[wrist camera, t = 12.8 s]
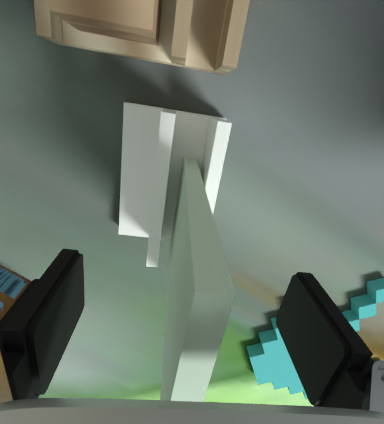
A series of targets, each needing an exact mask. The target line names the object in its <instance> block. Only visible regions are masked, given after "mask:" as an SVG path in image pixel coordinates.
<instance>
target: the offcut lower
mask: <svg viewBox="0 0 384 424" xmlns="http://www.w3.org/2000/svg"><path fill="white" fill-rule="evenodd" d="M161 8H162V0H159V3H158V16H157V28H156V39H151V38H146V37H141V36H136V35H131V34H126V33H120V32H115V31H110V30H105V29H100V28H94V27H89V26H84V25H79V24H74V23H68V22H67V23H68V24H70V25H71V26H73V27H74V28H76V29H77V30H79V31H82V32H87V33H92V34H97V35H103V36H108V37H113V38H118V39H124V40H129V41H134V42H140V43H145V44H150V45H155V46H158V44H159V32H160V20H161Z"/></svg>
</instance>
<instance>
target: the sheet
mask: <svg viewBox="0 0 384 424" xmlns="http://www.w3.org/2000/svg"><path fill="white" fill-rule="evenodd" d="M235 296H236V294H235V290H234V287H233V284H232V280H231V277H230V273H229V270H228V266H227V263H226V259H225V256H224V252H223V249H222V246H221V242H220V239H219V235H218V232H217V228H216V225H215V221H214V218H213V214H212V211H211V208H210V204H209V201H208V197H207V194H206V190H205V187H204V183H203V180H202V176H201V173H200V170H199V166H198V163H197V159H196V158H191V157H185V156H184V158H183V164H182V170H181V177H180V183H179V190H178V196H177V203H176V209H175V216H174V222H173V229H172V235H171V241H170V250H169V267H168V283H167V300H166V316H165V332H164V349H163V365H162V381H161V398H160V400H163V401H191V402H203V399H204V396H205V393H206V390H207V387H208V383H209V380H210V377H211V374H212V370H213V367H214V364H215V361H216V358H217V354H218V351H219V348H220V345H221V341H222V338H223V335H224V332H225V329H226V325H227V322H228V319H229V316H230V312H231V309H232V306H233V303H234V300H235Z"/></svg>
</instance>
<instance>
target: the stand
mask: <svg viewBox="0 0 384 424" xmlns="http://www.w3.org/2000/svg"><path fill="white" fill-rule="evenodd" d="M231 125H232V123H230V122H228V121H226V119H225V118H222V117H216V116H209V115H203V114H197V113H191V112H185V111H179V110H173V109H167V108H161V107H155V106H148V105H142V104H136V103H130V102H124V110H123V136H122V162H121V187H120V213H119V234H121V235H131V236H140V237H149V242H148V253H147V263H146V266H150V267H157V266H158V258H159V251H160V243H161V239H168V240H171V235H172V229H173V222H174V216H175V209H176V203H177V196H178V190H179V183H180V177H181V170H182V164H183V158H184V156H185V157H191V158H196V159H197V163H198V166H199V170H200V173H201V176H202V180H203V183H204V187H205V190H206V194H207V197H208V201H209V204H210V208H211V211H212V214H213V211H214V207H215V202H216V197H217V192H218V187H219V182H220V178H221V173H222V168H223V163H224V158H225V154H226V149H227V144H228V139H229V134H230V129H231Z"/></svg>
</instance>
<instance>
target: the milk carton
mask: <svg viewBox="0 0 384 424" xmlns="http://www.w3.org/2000/svg"><path fill="white" fill-rule="evenodd" d="M30 283H31V281H30V280H28V279H26V278H24V277H22V276H20V275H18V274H17V273H15V272H13V271H11V270H9V269H7V268H5V267H3V266H1V265H0V320H1V319H2V317H3V316H4V315H5V314H6V312H7V311H8V310H9V309H10V307H11V306H12V305H13V304H14V302H15V301H16V300H17V299H18V298H19V296H20V295H21V294H22V293H23V291H24V290H25V289H26V288H27V286H28V285H29V284H30Z"/></svg>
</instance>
